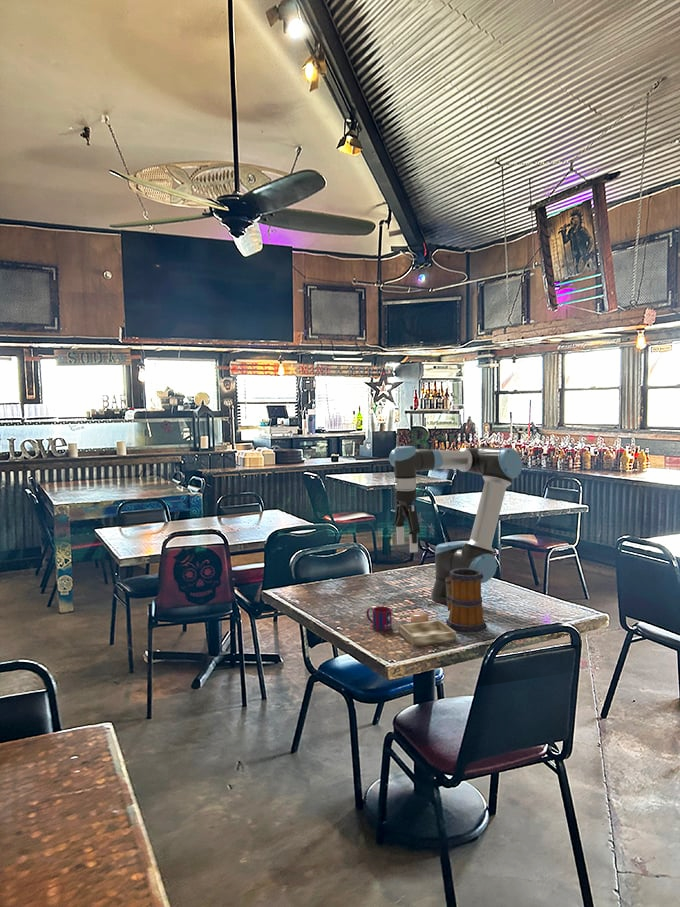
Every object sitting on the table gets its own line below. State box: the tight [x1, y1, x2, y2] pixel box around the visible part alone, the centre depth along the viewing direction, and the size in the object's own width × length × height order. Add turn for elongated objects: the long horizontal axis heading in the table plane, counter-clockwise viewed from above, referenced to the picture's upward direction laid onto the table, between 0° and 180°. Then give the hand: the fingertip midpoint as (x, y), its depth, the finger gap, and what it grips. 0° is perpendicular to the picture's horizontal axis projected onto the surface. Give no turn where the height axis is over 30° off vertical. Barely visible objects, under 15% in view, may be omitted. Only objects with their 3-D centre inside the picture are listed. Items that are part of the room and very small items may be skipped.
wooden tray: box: [398, 619, 457, 647], centre depth 216 cm, size 16×13×3 cm
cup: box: [366, 606, 393, 632], centre depth 227 cm, size 7×10×7 cm
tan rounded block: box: [410, 611, 429, 624], centre depth 230 cm, size 6×6×4 cm
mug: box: [445, 568, 488, 635], centre depth 227 cm, size 19×14×20 cm
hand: (407, 548), depth 228 cm, fingers open, 13 cm apart
